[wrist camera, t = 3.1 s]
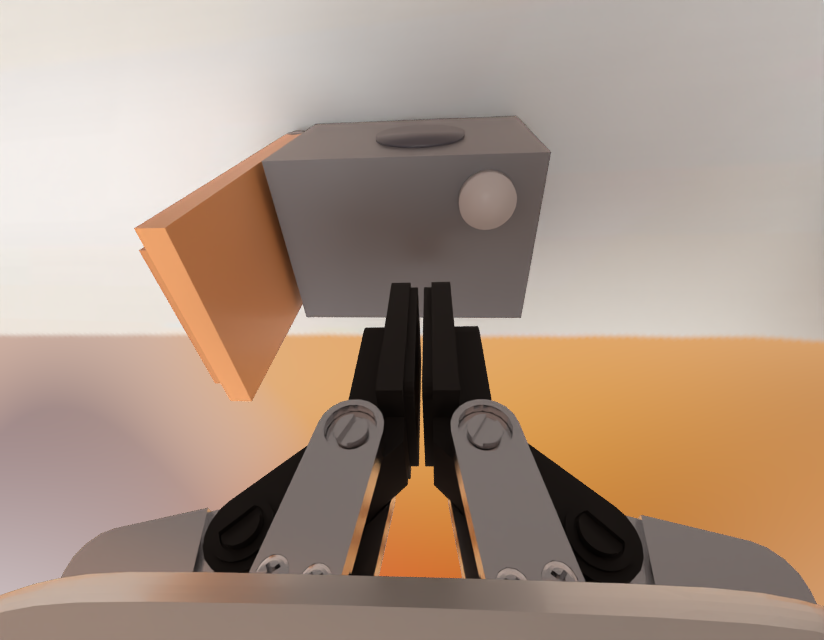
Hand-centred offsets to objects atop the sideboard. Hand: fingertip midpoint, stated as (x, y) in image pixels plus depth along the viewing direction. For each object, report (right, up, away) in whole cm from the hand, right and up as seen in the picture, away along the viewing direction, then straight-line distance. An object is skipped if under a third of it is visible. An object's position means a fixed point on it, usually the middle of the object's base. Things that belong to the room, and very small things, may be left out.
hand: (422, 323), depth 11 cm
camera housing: (0, +7, +9) cm, 12 cm away
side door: (-6, +7, +9) cm, 13 cm away
